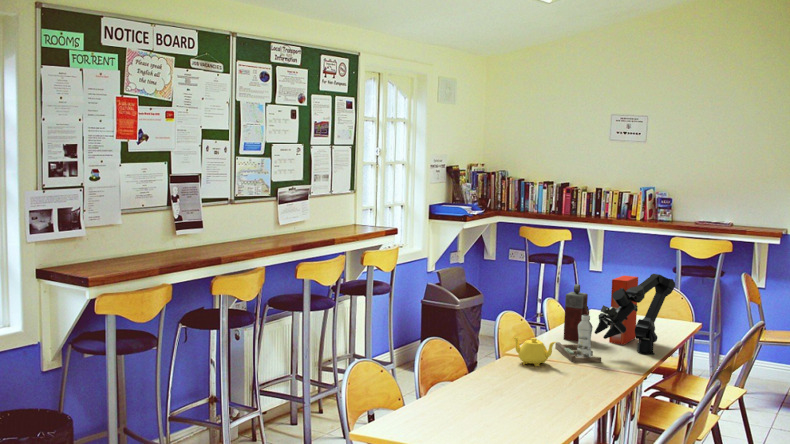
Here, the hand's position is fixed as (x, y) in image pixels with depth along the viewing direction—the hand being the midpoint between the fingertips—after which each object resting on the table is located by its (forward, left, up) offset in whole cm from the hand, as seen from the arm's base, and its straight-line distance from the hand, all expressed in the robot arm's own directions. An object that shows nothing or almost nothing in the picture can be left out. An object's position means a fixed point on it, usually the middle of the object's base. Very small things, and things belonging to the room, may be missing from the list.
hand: (599, 335), depth 357 cm
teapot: (+33, +9, -11) cm, 36 cm away
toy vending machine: (-2, -36, -11) cm, 37 cm away
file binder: (-25, -34, -11) cm, 43 cm away
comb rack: (+7, -5, -10) cm, 14 cm away
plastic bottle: (+7, +1, -11) cm, 13 cm away
